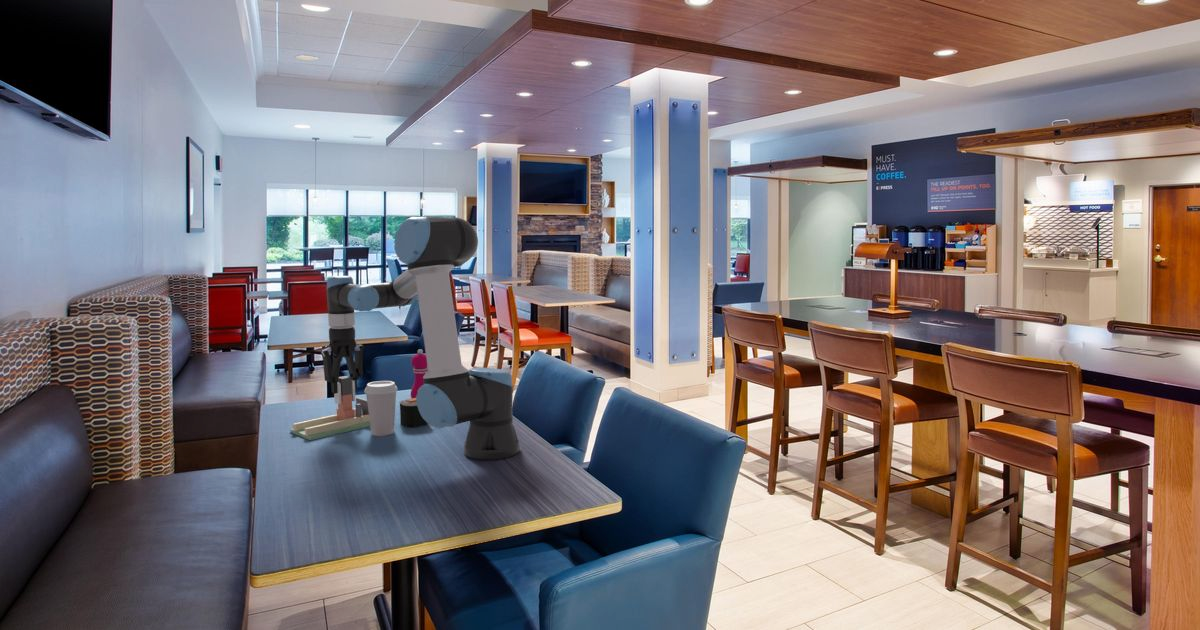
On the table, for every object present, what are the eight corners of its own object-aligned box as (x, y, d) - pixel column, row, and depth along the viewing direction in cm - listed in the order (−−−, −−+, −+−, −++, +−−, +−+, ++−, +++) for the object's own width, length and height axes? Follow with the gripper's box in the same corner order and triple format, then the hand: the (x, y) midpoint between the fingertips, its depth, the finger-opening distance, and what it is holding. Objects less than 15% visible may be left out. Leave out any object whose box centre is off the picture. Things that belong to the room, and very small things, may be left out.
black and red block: (354, 422, 220) (352, 377, 218) (345, 424, 218) (343, 379, 216) (346, 419, 224) (344, 375, 222) (337, 421, 221) (335, 376, 219)
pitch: (377, 424, 223) (376, 402, 222) (310, 440, 206) (309, 416, 205) (357, 417, 230) (356, 396, 229) (290, 432, 214) (289, 409, 213)
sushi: (432, 424, 223) (431, 399, 222) (407, 429, 218) (406, 403, 217) (421, 418, 229) (420, 394, 228) (396, 423, 224) (395, 398, 223)
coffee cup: (404, 428, 218) (402, 380, 216) (391, 438, 209) (390, 387, 207) (373, 427, 219) (372, 379, 217) (360, 436, 210) (358, 387, 208)
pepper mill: (410, 405, 246) (408, 347, 244) (431, 403, 248) (430, 346, 246) (411, 410, 239) (409, 351, 237) (433, 408, 242) (431, 350, 239)
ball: (362, 406, 223) (352, 413, 220) (367, 416, 224) (357, 423, 222) (356, 404, 225) (345, 410, 223) (360, 414, 227) (350, 421, 224)
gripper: (360, 322, 226) (363, 394, 229) (308, 328, 213) (312, 405, 216) (373, 325, 221) (376, 398, 224) (321, 331, 208) (325, 409, 211)
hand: (345, 401), depth 220 cm, fingers open, 4 cm apart
